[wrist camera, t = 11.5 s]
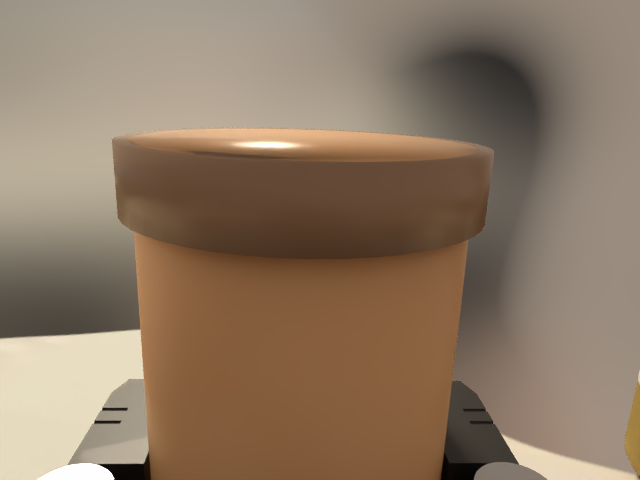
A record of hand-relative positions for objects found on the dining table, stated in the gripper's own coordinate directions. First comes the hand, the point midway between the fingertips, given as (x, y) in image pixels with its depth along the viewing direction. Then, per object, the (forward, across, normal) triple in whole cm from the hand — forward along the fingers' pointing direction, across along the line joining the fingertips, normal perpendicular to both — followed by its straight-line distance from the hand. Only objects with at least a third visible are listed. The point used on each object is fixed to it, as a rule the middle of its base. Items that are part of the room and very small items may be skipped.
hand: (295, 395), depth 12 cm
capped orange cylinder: (-3, 0, +7) cm, 7 cm away
